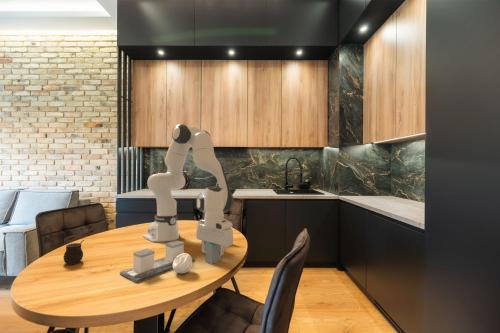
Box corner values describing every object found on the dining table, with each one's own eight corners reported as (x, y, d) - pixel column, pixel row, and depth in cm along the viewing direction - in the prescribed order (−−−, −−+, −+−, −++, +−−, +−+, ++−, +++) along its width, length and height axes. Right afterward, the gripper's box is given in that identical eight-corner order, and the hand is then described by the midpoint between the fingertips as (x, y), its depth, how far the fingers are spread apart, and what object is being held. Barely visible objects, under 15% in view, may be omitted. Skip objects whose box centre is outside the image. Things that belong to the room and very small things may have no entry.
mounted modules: (133, 270, 101) (133, 252, 101) (176, 255, 118) (176, 240, 118) (140, 273, 98) (140, 255, 98) (183, 257, 115) (183, 242, 115)
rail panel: (120, 274, 100) (120, 269, 100) (177, 255, 123) (177, 251, 123) (136, 283, 93) (136, 277, 93) (194, 260, 116) (194, 256, 116)
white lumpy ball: (170, 270, 104) (171, 252, 104) (188, 267, 108) (189, 249, 108) (175, 278, 97) (175, 258, 97) (194, 274, 101) (194, 255, 101)
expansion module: (205, 262, 114) (205, 243, 114) (214, 258, 119) (214, 240, 119) (211, 264, 112) (212, 245, 112) (220, 260, 117) (221, 242, 117)
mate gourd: (65, 260, 113) (66, 238, 113) (85, 258, 116) (86, 237, 116) (60, 266, 107) (61, 243, 107) (82, 264, 110) (82, 241, 110)
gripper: (193, 220, 119) (192, 249, 119) (226, 226, 107) (225, 259, 107) (203, 218, 124) (202, 246, 124) (235, 224, 113) (235, 255, 113)
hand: (213, 252), depth 116 cm, fingers open, 8 cm apart
